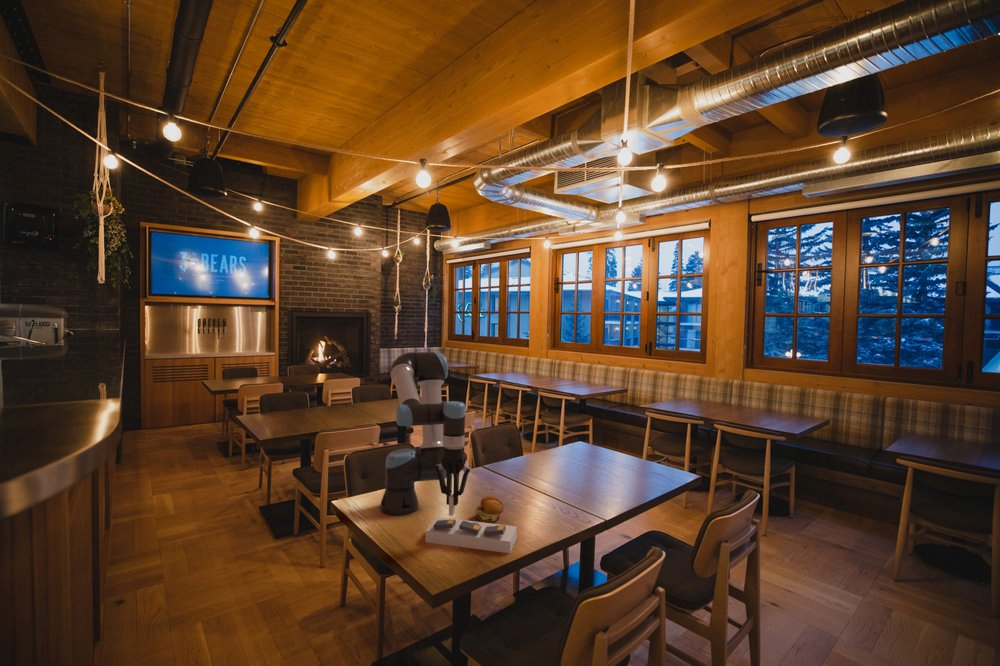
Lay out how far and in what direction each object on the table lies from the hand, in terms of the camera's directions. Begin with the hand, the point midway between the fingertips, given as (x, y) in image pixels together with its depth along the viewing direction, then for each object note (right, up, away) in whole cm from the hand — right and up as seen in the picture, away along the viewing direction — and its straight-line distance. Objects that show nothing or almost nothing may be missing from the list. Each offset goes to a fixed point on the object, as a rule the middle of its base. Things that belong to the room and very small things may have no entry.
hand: (452, 513), depth 164 cm
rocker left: (-3, -5, +1) cm, 5 cm away
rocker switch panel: (+7, -10, +2) cm, 12 cm away
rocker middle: (+6, -5, -1) cm, 8 cm away
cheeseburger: (+13, -10, +20) cm, 26 cm away
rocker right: (+15, -5, -3) cm, 16 cm away
